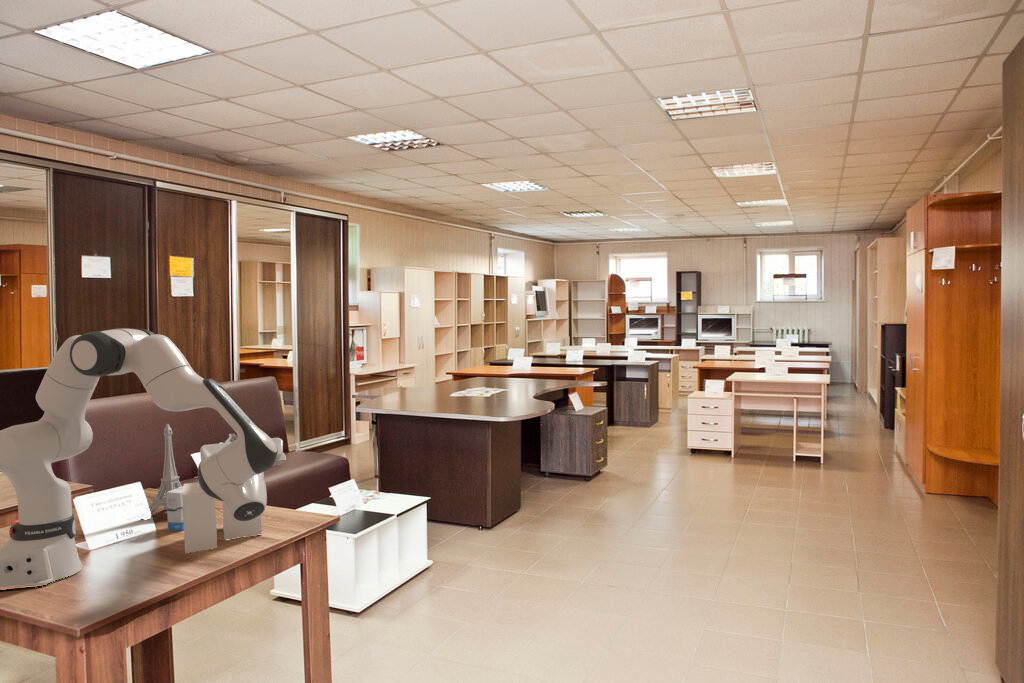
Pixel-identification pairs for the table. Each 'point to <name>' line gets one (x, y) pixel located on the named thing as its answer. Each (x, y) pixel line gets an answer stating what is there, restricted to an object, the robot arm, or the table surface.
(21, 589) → the table surface
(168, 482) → the eiffel tower
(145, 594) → the table surface
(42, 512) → the robot arm
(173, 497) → the ink box
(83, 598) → the table surface
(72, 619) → the table surface
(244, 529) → the tall stand
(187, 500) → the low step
